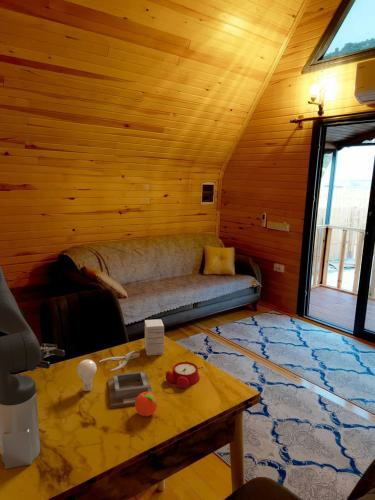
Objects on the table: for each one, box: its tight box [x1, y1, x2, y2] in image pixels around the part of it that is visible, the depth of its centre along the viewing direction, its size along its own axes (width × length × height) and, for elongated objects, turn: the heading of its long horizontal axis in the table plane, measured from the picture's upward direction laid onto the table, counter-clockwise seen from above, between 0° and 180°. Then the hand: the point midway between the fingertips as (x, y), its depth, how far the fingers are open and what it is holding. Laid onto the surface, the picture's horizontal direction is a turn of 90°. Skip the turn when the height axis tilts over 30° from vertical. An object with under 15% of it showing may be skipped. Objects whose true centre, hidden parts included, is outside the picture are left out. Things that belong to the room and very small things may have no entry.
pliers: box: [98, 350, 140, 372], centre depth 147 cm, size 10×2×15 cm
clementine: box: [134, 392, 158, 417], centre depth 114 cm, size 8×7×7 cm
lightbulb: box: [76, 359, 97, 392], centre depth 125 cm, size 6×6×11 cm
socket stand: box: [107, 370, 154, 409], centre depth 126 cm, size 16×14×4 cm
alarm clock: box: [165, 360, 204, 389], centre depth 134 cm, size 10×6×15 cm
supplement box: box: [144, 319, 165, 356], centre depth 154 cm, size 7×7×13 cm
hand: (57, 359), depth 127 cm, fingers open, 8 cm apart
